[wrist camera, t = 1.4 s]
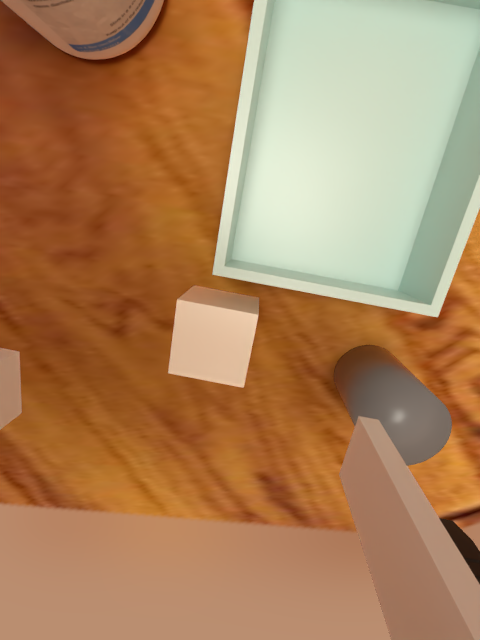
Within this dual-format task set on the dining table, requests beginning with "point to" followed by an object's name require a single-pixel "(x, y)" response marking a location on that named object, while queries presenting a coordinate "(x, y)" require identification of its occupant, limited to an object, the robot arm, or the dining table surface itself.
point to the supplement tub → (90, 24)
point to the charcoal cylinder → (393, 401)
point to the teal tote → (355, 150)
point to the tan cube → (213, 335)
